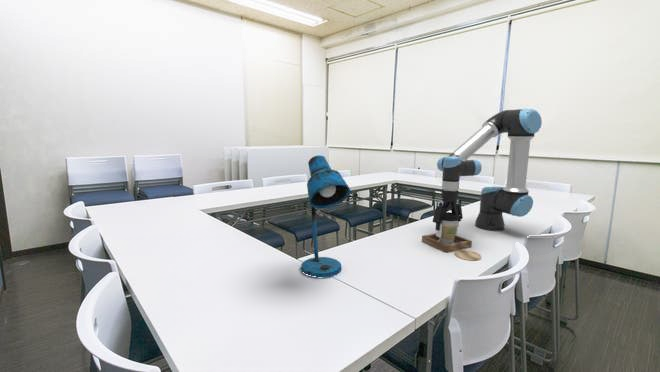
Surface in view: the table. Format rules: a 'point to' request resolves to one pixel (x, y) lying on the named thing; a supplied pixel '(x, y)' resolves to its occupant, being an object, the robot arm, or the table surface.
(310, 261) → the desk lamp
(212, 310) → the table surface
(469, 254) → the cork coaster
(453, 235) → the coffee cup
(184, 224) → the table surface
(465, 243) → the pocket frame
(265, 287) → the table surface
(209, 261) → the table surface
